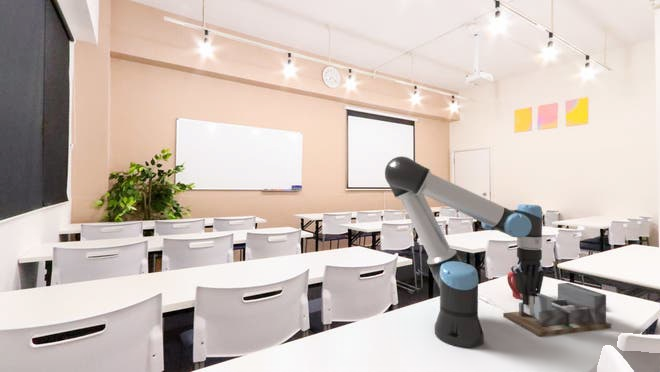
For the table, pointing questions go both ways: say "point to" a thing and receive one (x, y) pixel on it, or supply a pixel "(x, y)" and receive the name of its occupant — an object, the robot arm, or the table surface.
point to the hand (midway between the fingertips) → (528, 313)
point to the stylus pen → (490, 302)
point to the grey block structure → (583, 316)
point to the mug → (513, 284)
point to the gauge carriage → (548, 307)
